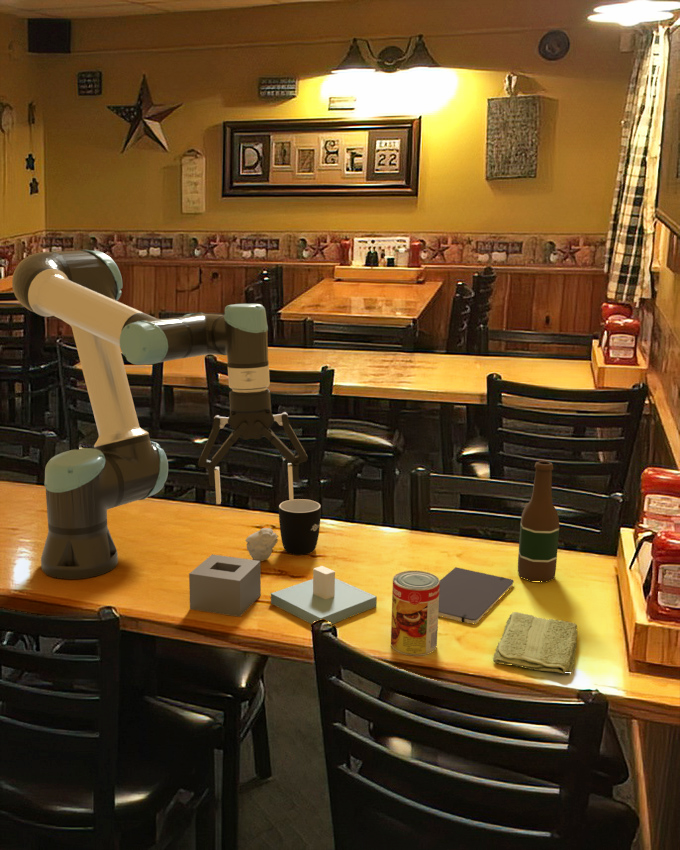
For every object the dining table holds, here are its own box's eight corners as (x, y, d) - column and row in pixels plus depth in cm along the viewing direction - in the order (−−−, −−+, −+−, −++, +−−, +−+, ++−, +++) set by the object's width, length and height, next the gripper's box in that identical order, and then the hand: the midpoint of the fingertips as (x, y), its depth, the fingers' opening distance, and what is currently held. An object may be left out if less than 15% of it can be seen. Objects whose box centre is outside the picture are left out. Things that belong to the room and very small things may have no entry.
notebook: (455, 574, 191) (411, 612, 173) (455, 566, 190) (411, 604, 172) (514, 587, 185) (475, 628, 167) (515, 579, 184) (475, 620, 166)
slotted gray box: (189, 609, 171) (189, 573, 170) (212, 588, 181) (212, 554, 179) (240, 616, 168) (239, 580, 167) (260, 595, 178) (260, 560, 176)
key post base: (270, 603, 174) (270, 568, 173) (326, 583, 184) (326, 550, 182) (320, 628, 164) (321, 591, 163) (376, 606, 174) (377, 571, 172)
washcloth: (490, 668, 152) (491, 650, 152) (507, 623, 169) (508, 607, 168) (571, 682, 148) (573, 664, 148) (581, 635, 165) (583, 618, 164)
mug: (314, 559, 196) (314, 514, 193) (273, 555, 198) (273, 510, 195) (328, 540, 207) (328, 496, 205) (289, 536, 209) (289, 493, 207)
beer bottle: (559, 572, 191) (568, 460, 185) (550, 586, 184) (559, 470, 178) (521, 565, 194) (529, 455, 188) (512, 579, 187) (520, 464, 182)
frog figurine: (274, 566, 191) (274, 535, 190) (241, 564, 193) (241, 532, 191) (281, 556, 197) (281, 525, 196) (249, 553, 198) (249, 522, 197)
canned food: (396, 631, 164) (398, 568, 161) (440, 638, 162) (443, 573, 159) (385, 651, 156) (387, 585, 154) (431, 658, 154) (434, 591, 151)
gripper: (179, 395, 166) (186, 509, 170) (318, 389, 168) (322, 502, 172) (182, 388, 173) (189, 498, 177) (316, 382, 175) (320, 491, 179)
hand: (255, 500), depth 175 cm, fingers open, 13 cm apart
